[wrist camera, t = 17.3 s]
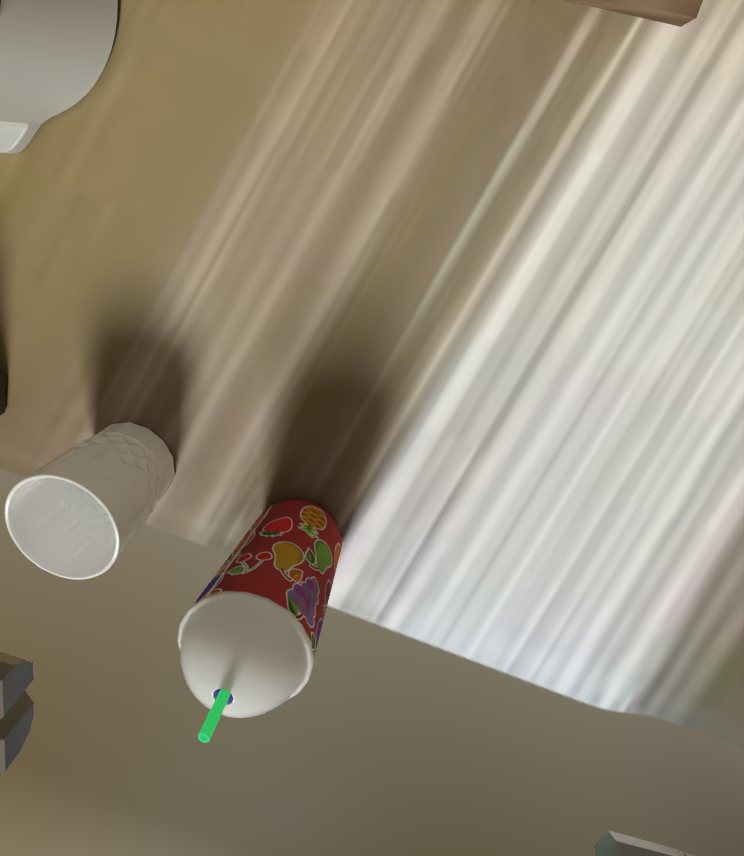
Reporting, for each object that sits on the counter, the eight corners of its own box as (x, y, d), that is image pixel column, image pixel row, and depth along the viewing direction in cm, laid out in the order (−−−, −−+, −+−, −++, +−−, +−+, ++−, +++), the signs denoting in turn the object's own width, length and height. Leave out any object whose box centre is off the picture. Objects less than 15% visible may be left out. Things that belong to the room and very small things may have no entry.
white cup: (104, 395, 51) (21, 453, 42) (197, 446, 51) (135, 514, 42) (75, 474, 54) (-9, 543, 45) (162, 521, 54) (97, 599, 45)
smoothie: (229, 519, 53) (95, 717, 35) (304, 462, 50) (198, 648, 32) (301, 591, 55) (208, 815, 37) (377, 540, 52) (316, 758, 34)
